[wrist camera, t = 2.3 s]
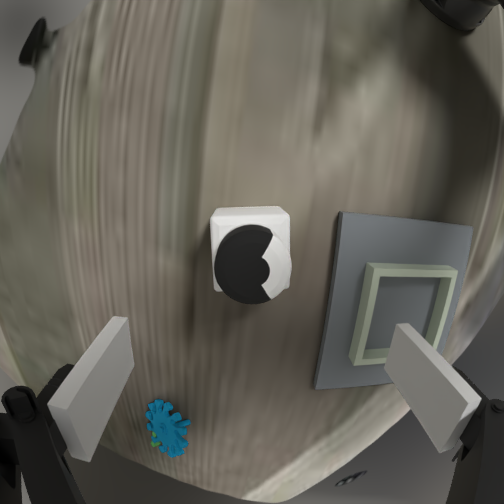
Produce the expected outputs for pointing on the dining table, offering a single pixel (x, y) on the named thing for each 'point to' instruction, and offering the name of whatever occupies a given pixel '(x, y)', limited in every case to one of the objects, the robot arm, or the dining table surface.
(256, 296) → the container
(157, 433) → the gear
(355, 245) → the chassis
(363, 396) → the dining table surface
